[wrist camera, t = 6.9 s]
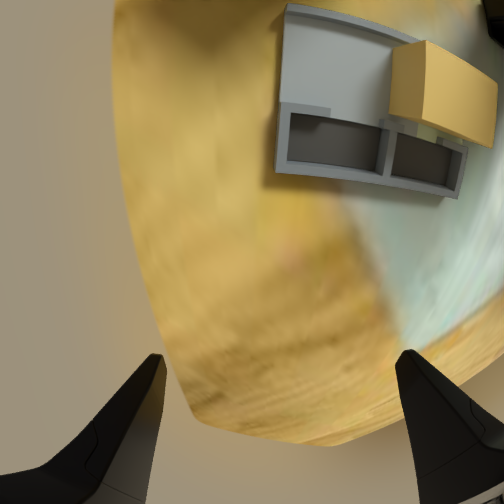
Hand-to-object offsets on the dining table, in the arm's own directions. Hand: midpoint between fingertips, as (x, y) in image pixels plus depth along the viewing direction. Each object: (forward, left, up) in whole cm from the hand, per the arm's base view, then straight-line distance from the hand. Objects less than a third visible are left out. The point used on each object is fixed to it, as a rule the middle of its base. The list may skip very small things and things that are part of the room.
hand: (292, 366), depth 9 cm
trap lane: (-8, -10, -12) cm, 17 cm away
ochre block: (-11, -11, -11) cm, 19 cm away
